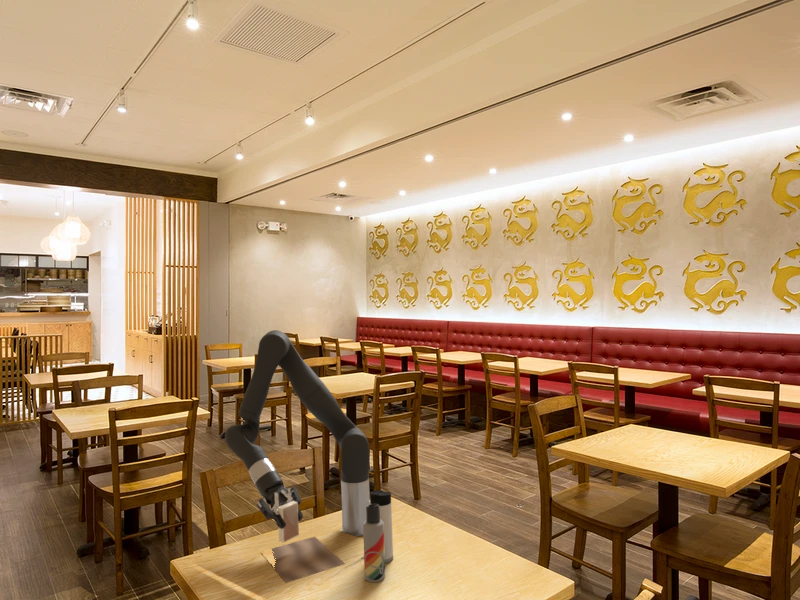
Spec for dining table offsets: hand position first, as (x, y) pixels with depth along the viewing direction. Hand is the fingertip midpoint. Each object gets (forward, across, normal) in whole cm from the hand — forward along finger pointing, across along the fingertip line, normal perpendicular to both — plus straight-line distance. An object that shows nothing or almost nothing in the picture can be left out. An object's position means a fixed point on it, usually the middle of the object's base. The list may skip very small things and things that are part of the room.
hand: (292, 523), depth 161 cm
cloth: (+10, 0, +5) cm, 11 cm away
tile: (+2, 0, +5) cm, 5 cm away
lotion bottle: (+27, +5, -12) cm, 30 cm away
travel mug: (+24, +14, -8) cm, 29 cm away
